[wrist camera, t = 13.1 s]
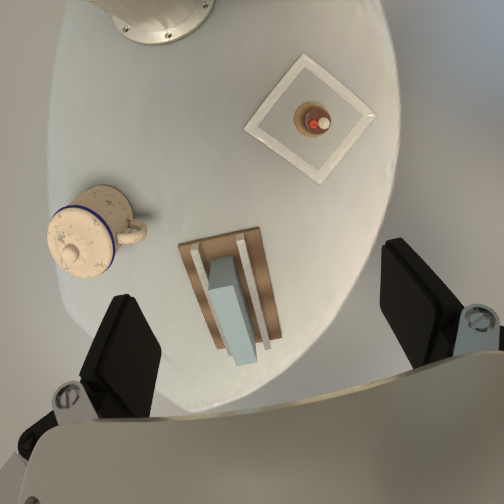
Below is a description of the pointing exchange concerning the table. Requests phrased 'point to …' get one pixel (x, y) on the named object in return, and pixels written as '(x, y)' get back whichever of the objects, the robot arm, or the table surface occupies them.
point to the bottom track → (250, 274)
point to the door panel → (232, 309)
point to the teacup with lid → (92, 231)
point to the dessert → (311, 119)
